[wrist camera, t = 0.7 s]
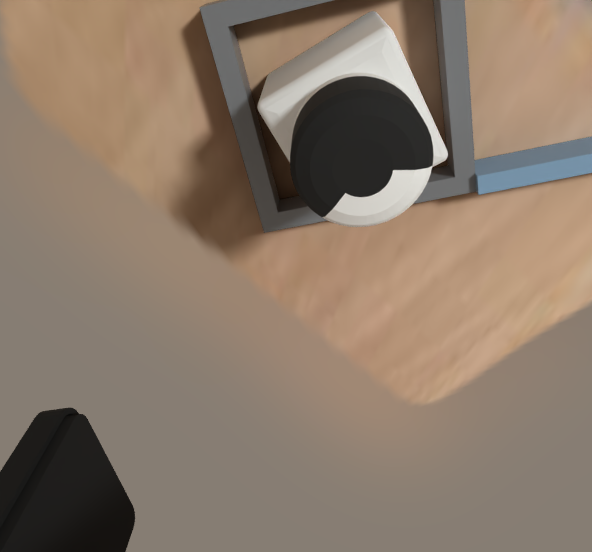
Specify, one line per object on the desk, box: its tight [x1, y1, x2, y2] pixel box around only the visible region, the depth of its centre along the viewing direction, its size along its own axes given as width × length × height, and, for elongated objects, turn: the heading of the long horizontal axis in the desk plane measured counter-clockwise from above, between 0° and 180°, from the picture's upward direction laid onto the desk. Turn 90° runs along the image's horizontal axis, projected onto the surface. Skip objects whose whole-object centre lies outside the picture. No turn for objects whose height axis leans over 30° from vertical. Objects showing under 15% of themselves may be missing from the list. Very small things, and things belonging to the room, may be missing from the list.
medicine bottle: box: [257, 11, 448, 227], centre depth 28 cm, size 7×7×12 cm
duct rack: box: [200, 0, 592, 233], centre depth 31 cm, size 13×26×2 cm, turn 103°
